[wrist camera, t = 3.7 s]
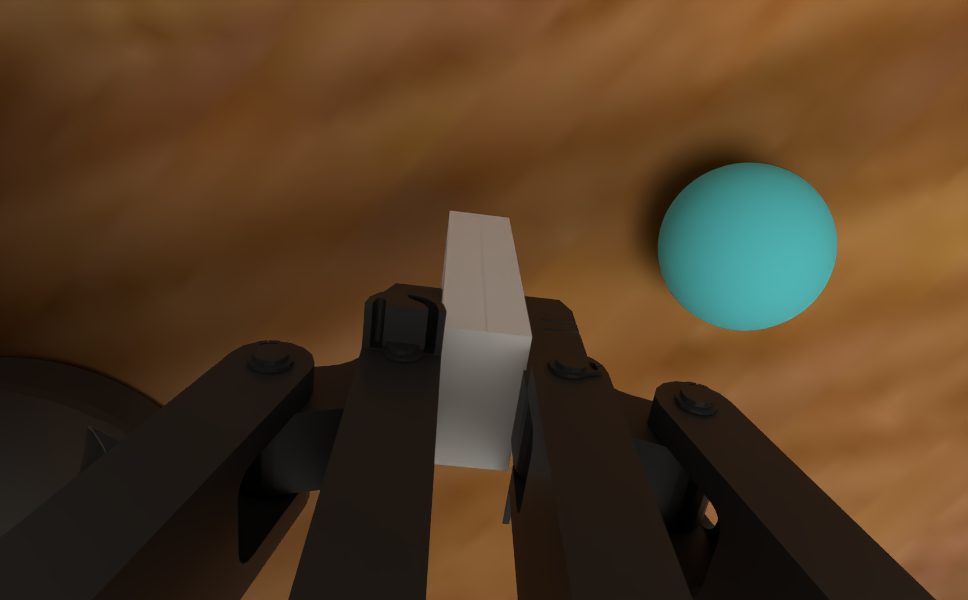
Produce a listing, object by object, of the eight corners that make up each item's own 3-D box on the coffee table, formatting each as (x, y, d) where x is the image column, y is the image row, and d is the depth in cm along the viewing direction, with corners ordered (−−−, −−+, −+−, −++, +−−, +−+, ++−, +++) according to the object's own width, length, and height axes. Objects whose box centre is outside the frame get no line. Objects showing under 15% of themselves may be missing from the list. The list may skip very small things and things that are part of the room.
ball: (625, 282, 26) (666, 351, 21) (659, 137, 24) (714, 175, 19) (763, 298, 26) (836, 369, 21) (810, 157, 24) (902, 199, 19)
